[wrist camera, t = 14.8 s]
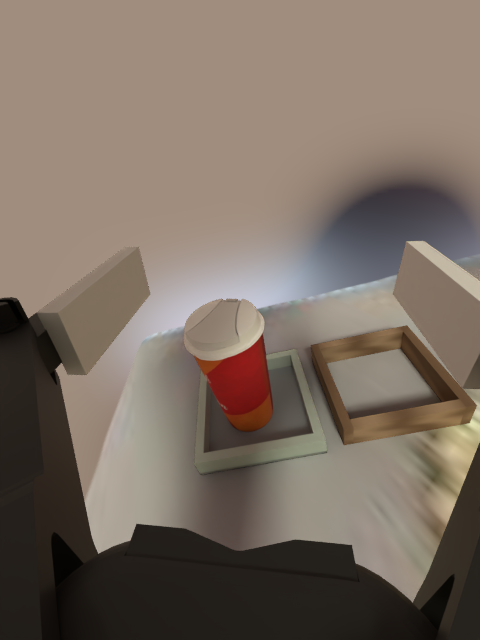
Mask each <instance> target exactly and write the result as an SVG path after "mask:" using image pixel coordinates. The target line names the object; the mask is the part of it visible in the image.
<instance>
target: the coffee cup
mask: <svg viewBox="0 0 480 640" xmlns="http://www.w3.org/2000/svg"><path fill="white" fill-rule="evenodd" d="M237 300H238V299H226V300H223V299H219V300H215V301H212V302H209V303H207V304H205V305H203V306H201V307H200V308H198V309H197V310H195V311H194V312H193V313H192V314H191V315H190V316H189V318H188V319H187V321H186V324H185V328H184V331H185V335H184V345H185V347H186V349H187V350H188V352H190V353H191V354H192V355H194V357H195V359H196V361H197V363H198V365H199V367H200V368H201V370H202V372H203V374H204V376H205V378H206V380H207V382H208V384H209V386H210V388H211V389H212V391H213V393H214V395H215V397H216V399H217V401H218V403H219V404H220V406H221V408H222V410H223V412H224V414H225V415H226V417H227V419H228V421H229V422H230V424H231V425H232V426H233V427H234V428H236V429H237V430H240V431H243V432H252V431H256V430H259V429H261V428H262V427H264V426H265V425H266V424H267V423H268V422H269V421H270V419H271V417H272V414H273V401H272V393H271V386H270V379H269V372H268V365H267V359H266V352H265V345H264V339H263V330H264V324H265V323H264V318H263V316H262V315H261V314H260V312H259V311H257V309H256V307H255V306H254V305H253V304H252V303H250V302H249V301H247V300H244V299H242V300H241V301H237Z"/></svg>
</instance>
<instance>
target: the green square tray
mask: <svg viewBox="0 0 480 640" xmlns="http://www.w3.org/2000/svg"><path fill="white" fill-rule="evenodd" d="M266 359H267V365H268V372H269V379H270V386H271V393H272V401H273V414H272V417H271V419H270V421H269V422H268V423H267V424H266V425H265V426H264V427H262V428H261V429H259V430H256V431H252V432H243V431H240V430H237V429H236V428H234V427H233V426H232V425H231V424H230V422H229V421H228V419H227V417H226V415H225V414H224V412H223V410H222V408H221V406H220V404H219V403H218V401H217V399H216V397H215V395H214V393H213V391H212V389H211V388H210V386H209V384H208V382H207V380H206V378H205V376H204V374H203V372H202V370H200V384H199V399H198V413H197V427H196V441H195V456H194V465H195V466H196V468H197V469H198V471H199V473H200V474H201V475H203V474H209V473H215V472H220V471H226V470H232V469H238V468H243V467H249V466H255V465H260V464H266V463H272V462H277V461H283V460H289V459H294V458H300V457H306V456H312V455H317V454H323V453H327V448H326V439H325V436H324V433H323V430H322V427H321V424H320V421H319V418H318V415H317V412H316V408H315V405H314V402H313V399H312V396H311V393H310V390H309V387H308V384H307V381H306V378H305V375H304V372H303V368H302V365H301V362H300V359H299V356H298V353H297V350H296V349H292V350H287V351H282V352H277V353H273V354H268V355H266Z"/></svg>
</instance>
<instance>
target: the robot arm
mask: <svg viewBox="0 0 480 640" xmlns="http://www.w3.org/2000/svg"><path fill="white" fill-rule="evenodd" d="M149 295H150V291H149V286H148V282H147V279H146V275H145V270H144V266H143V262H142V258H141V254H140V250H139V247H124V248H123V249H122V250H120V251H119V252H118V253H116V254H115V255H113V256H112V257H111V258H109V259H108V260H107V261H105V262H104V263H103V264H101V265H100V266H99V267H98V268H96V269H95V270H93V271H92V272H91V273H89V274H88V275H87V276H85V277H84V278H83V279H81V280H80V281H78V282H77V283H76V284H74V285H73V286H72V287H70V288H69V289H68V290H66V291H65V292H64V293H62V294H61V295H60V296H58V297H57V298H56V299H54V300H53V301H51V302H50V303H49V304H47V305H46V306H45V307H43V308H42V309H41V310H39V311H38V312H37V313H35V314H34V315H33V316H31V317H30V318H29V319H28V317H27V315H26V314H25V312H24V310H23V308H22V306H21V304H20V302H19V300H18V299H17V298H12V297H10V298H2V299H0V640H480V443H479V446H478V448H477V451H476V453H475V456H474V458H473V461H472V463H471V466H470V468H469V471H468V473H467V476H466V479H465V481H464V484H463V486H462V489H461V491H460V494H459V496H458V499H457V501H456V504H455V506H454V509H453V511H452V514H451V516H450V519H449V522H448V524H447V527H446V529H445V532H444V534H443V537H442V539H441V542H440V544H439V547H438V549H437V552H436V554H435V557H434V559H433V562H432V565H431V567H430V569H429V572H428V574H427V576H426V578H425V580H424V582H423V584H422V586H421V588H420V589H419V591H418V593H417V595H416V597H415V599H414V601H413V603H412V602H411V601H410V600H409V599H408V598H407V597H406V596H405V595H404V594H402V593H401V592H400V591H399V590H398V589H397V588H395V587H394V586H393V585H392V584H390V583H389V582H387V581H386V580H385V579H383V578H382V577H380V576H379V575H377V574H375V573H374V572H372V571H370V570H368V569H367V568H365V567H363V566H360V565H358V564H356V563H355V560H354V554H353V549H352V545H345V544H335V543H325V542H315V541H305V540H291V541H287V542H282V543H277V544H273V545H268V546H263V547H259V548H254V549H249V550H245V551H235V550H232V549H230V548H228V547H225V546H223V545H221V544H219V543H217V542H214V541H212V540H210V539H208V538H205V537H203V536H201V535H199V534H196V533H194V532H192V531H190V530H187V529H183V528H173V527H162V526H152V525H142V524H136V527H135V530H134V533H133V535H132V538H131V541H128V542H124V543H122V544H119V545H116V546H113V547H111V548H109V549H107V550H105V551H103V552H101V553H99V554H98V552H97V550H96V547H95V545H94V542H93V539H92V536H91V532H90V527H89V522H88V517H87V512H86V507H85V502H84V497H83V492H82V487H81V483H80V478H79V473H78V468H77V463H76V458H75V453H74V449H73V444H72V438H71V433H70V428H69V424H68V419H67V414H66V409H65V404H64V399H63V394H62V389H61V385H60V379H59V376H58V374H57V372H56V370H55V369H56V368H57V367H58V366H59V365H60V363H62V364H63V366H64V368H65V370H66V372H67V374H69V375H87V374H88V372H89V371H90V370H91V369H92V367H93V366H94V365H95V364H96V362H97V361H98V360H99V359H100V357H101V356H102V355H103V354H104V352H105V351H106V350H107V348H108V347H109V346H110V345H111V343H112V342H113V341H114V339H115V338H116V337H117V336H118V334H119V333H120V332H121V331H122V329H123V328H124V327H125V326H126V324H127V323H128V322H129V321H130V319H131V318H132V317H133V315H134V314H135V313H136V312H137V310H138V309H139V308H140V307H141V305H142V304H143V303H144V302H145V300H146V299H147V298H148V296H149ZM393 295H394V296H395V298H396V299H397V300H398V302H399V303H400V304H401V306H402V307H403V308H404V310H405V311H406V313H407V314H408V315H409V317H410V318H411V319H412V321H413V322H414V323H415V325H416V326H417V328H418V329H419V330H420V332H421V333H422V334H423V336H424V337H425V338H426V340H427V341H428V343H429V344H430V345H431V347H432V348H433V349H434V351H435V352H436V353H437V355H438V356H439V358H440V359H441V360H442V362H443V363H444V364H445V366H446V367H447V368H448V370H449V371H450V372H451V374H452V375H453V377H454V378H455V379H456V381H457V382H458V383H459V385H460V386H461V387H462V388H465V389H480V281H479V280H478V279H476V278H475V277H473V276H472V275H471V274H469V273H468V272H466V271H465V270H464V269H462V268H461V267H460V266H458V265H457V264H455V263H454V262H453V261H451V260H450V259H448V258H447V257H445V256H444V255H443V254H441V253H440V252H439V251H437V250H436V249H434V248H433V247H432V246H430V245H429V244H427V243H426V242H425V241H407V242H406V245H405V249H404V253H403V257H402V261H401V265H400V269H399V272H398V276H397V280H396V284H395V288H394V292H393Z"/></svg>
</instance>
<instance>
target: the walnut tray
mask: <svg viewBox="0 0 480 640" xmlns="http://www.w3.org/2000/svg"><path fill="white" fill-rule="evenodd" d="M399 348H401V349H402V350H403V352H404V353H405V354H406V356H407V357H408V358H409V359H410V361H411V362H412V363H413V365H414V366H415V367H416V369H417V370H418V371H419V372H420V374H421V375H422V376H423V378H424V379H425V380H426V382H427V383H428V384H429V386H430V387H431V388H432V389H433V391H434V392H435V393H436V395H437V396H438V397H439V399H440V400H441V401H442V402H441V403H435V404H430V405H425V406H419V407H414V408H408V409H403V410H397V411H392V412H386V413H381V414H376V415H370V416H365V417H359V418H354V419H350V418H349V416H348V413H347V411H346V409H345V406H344V404H343V402H342V399H341V397H340V394H339V392H338V390H337V387H336V385H335V383H334V380H333V378H332V376H331V373H330V371H329V369H328V366H327V364H326V363H329V362H334V361H339V360H344V359H349V358H354V357H359V356H364V355H369V354H374V353H379V352H384V351H389V350H394V349H399ZM311 352H312V361H313V364H314V366H315V369H316V372H317V374H318V377H319V380H320V382H321V385H322V388H323V390H324V393H325V396H326V398H327V401H328V404H329V406H330V409H331V412H332V414H333V417H334V420H335V422H336V425H337V428H338V430H339V433H340V436H341V438H342V441H343V444H344V445H347V444H353V443H359V442H364V441H370V440H376V439H381V438H387V437H393V436H398V435H404V434H410V433H415V432H421V431H427V430H432V429H438V428H444V427H449V426H455V425H461V424H466V423H470V421H471V418H472V416H473V413H474V411H475V409H476V406H477V405H476V404H475V403H474V401H473V400H472V399H471V398H470V397H469V396H468V395H467V393H466V392H465V391H464V390H463V389H462V388H461V387H460V385H459V384H458V383H457V382H456V381H455V380H454V379H453V377H452V376H451V375H450V374H449V373H448V372H447V371H446V369H445V368H444V367H443V366H442V365H441V364H440V363H439V362H438V360H437V359H436V358H435V357H434V356H433V355H432V354H431V352H430V351H429V350H428V349H427V348H426V347H425V346H424V344H423V343H422V342H421V341H420V340H419V339H418V338H417V336H416V335H415V334H414V333H413V332H412V331H411V330H410V328H409V327H408V326H402V327H397V328H392V329H388V330H383V331H378V332H373V333H368V334H363V335H359V336H354V337H349V338H344V339H339V340H335V341H330V342H325V343H320V344H315V345H311Z"/></svg>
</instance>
